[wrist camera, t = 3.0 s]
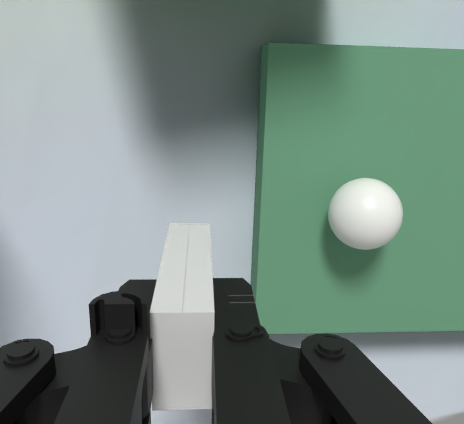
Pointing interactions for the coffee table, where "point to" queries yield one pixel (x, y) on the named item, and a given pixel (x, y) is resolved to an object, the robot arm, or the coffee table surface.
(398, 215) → the ball
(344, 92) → the mat
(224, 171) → the coffee table surface
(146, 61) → the coffee table surface
